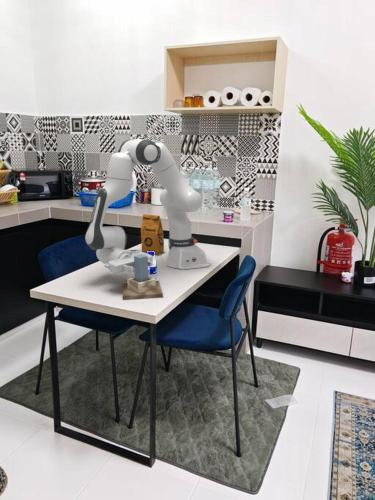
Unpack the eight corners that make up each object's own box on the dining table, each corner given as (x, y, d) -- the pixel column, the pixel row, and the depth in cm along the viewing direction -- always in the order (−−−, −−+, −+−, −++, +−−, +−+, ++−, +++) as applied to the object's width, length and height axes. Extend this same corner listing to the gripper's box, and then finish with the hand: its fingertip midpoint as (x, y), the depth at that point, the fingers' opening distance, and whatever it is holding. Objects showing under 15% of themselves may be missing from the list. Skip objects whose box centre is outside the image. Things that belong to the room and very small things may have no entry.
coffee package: (157, 256, 216) (156, 217, 210) (139, 253, 222) (137, 215, 216) (167, 252, 224) (166, 214, 218) (149, 249, 230) (148, 212, 224)
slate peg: (142, 285, 167) (141, 254, 164) (148, 288, 165) (147, 256, 161) (135, 288, 165) (133, 256, 161) (141, 290, 162) (140, 258, 158)
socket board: (158, 283, 174) (158, 272, 173) (162, 297, 159) (162, 284, 157) (122, 285, 171) (121, 274, 170) (122, 299, 156) (122, 286, 155)
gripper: (101, 257, 163) (121, 265, 154) (140, 248, 177) (160, 254, 168) (102, 272, 165) (122, 280, 155) (140, 262, 179) (161, 268, 169)
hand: (142, 267), depth 162 cm, fingers open, 8 cm apart
